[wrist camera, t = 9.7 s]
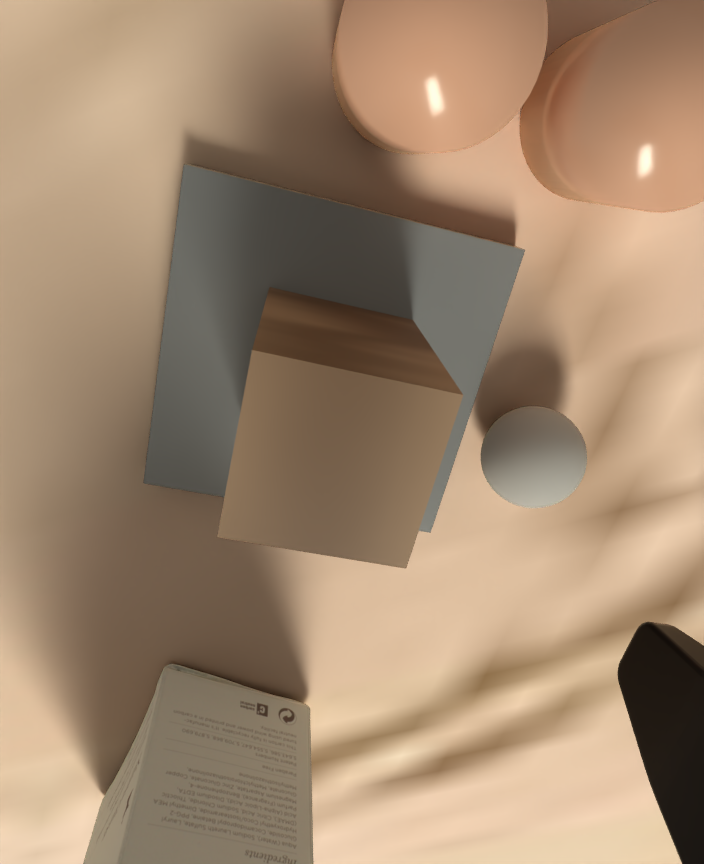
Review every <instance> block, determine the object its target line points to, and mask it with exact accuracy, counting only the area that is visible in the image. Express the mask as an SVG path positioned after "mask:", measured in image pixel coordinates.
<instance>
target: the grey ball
mask: <svg viewBox="0 0 704 864" xmlns="http://www.w3.org/2000/svg"><path fill="white" fill-rule="evenodd" d="M586 464H587V451H586V446H585V442H584V440H583V437H582V435H581V433H580V431H579V430H578V428H577V427H576V426H575V425H574V423H573V422H572V421H571V420H569V419H568V418H567V417H566V416H564V415H563V414H561V413H560V412H557V411H555V410H553V409H550V408H546V407H541V406H525V407H521V408H517V409H514V410H511V411H509V412H507V413H506V414H504V415H502V416H501V417H500V418H499V419H497V420H496V421H495V422H494V423H493V425H492V426H491V427H490V429H489V430H488V432H487V433H486V435H485V438H484V440H483V444H482V448H481V465H482V470H483V473H484V475H485V478H486V480H487V482H488V483H489V484H490V486H491V487H492V489H493V490H494V491H495V492H496V493H497V494H498V495H499V496H501V497H502V498H503V499H505V500H507V501H508V502H510V503H512V504H515V505H517V506H521V507H526V508H542V507H547V506H551V505H554V504H557V503H559V502H561V501H562V500H564V499H565V498H567V497H568V496H569V495H570V494H571V493H573V492H574V490H575V489H576V488H577V487H578V485H579V484H580V482H581V480H582V478H583V476H584V473H585V470H586Z"/></svg>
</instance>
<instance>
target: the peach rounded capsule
mask: <svg viewBox="0 0 704 864" xmlns="http://www.w3.org/2000/svg"><path fill="white" fill-rule="evenodd" d="M520 139H521V146H522V150H523V154H524V157H525V159H526V162H527V164H528V166H529V168H530V170H531V172H532V173H533V175H534V176H535V177H536V179H537V180H538V181H539V182H540V183H541V184H542V185H543V186H544V187H545V188H547V189H548V190H549V191H551V192H553V193H554V194H556V195H558V196H561V197H563V198H566V199H570V200H576V201H582V202H588V203H595V204H601V205H608V206H614V207H621V208H627V209H633V210H640V211H646V212H661V213H662V212H672V211H677V210H681V209H685V208H688V207H691V206H693V205H696V204H698V203H700V202H702V201H704V0H657V1H655V2H653V3H651V4H648V5H646V6H644V7H642V8H639V9H637V10H635V11H633V12H630V13H628V14H626V15H624V16H621V17H619V18H617V19H615V20H613V21H610V22H608V23H606V24H604V25H601V26H599V27H597V28H595V29H592V30H590V31H588V32H586V33H583V34H581V35H579V36H577V37H575V38H573V39H571V40H569V41H568V42H566V43H564V44H563V45H562V46H560V47H559V48H558V49H556V50H555V51H554V52H553V53H552V54H551V55H550V56H549V57H548V58H547V59H546V60H545V62H544V63H543V64H542V67H541V70H540V73H539V76H538V78H537V81H536V83H535V85H534V87H533V89H532V91H531V93H530V95H529V97H528V98H527V100H526V101H525V103H524V104H523V106H522V110H521V118H520Z"/></svg>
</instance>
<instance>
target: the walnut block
mask: <svg viewBox="0 0 704 864" xmlns="http://www.w3.org/2000/svg"><path fill="white" fill-rule="evenodd" d="M462 398H463V394H462V392H461V391H460V389H459V388H458V386H457V385H456V383H455V382H454V380H453V379H452V377H451V376H450V374H449V373H448V371H447V370H446V368H445V367H444V365H443V364H442V362H441V361H440V359H439V358H438V356H437V355H436V353H435V352H434V350H433V349H432V347H431V346H430V344H429V343H428V341H427V340H426V338H425V337H424V336H423V334H422V333H421V331H420V330H419V328H418V327H417V325H416V324H415V322H414V321H413V320H411V319H407V318H402V317H398V316H394V315H389V314H385V313H381V312H376V311H372V310H367V309H363V308H359V307H354V306H350V305H346V304H341V303H337V302H333V301H328V300H324V299H320V298H315V297H311V296H307V295H302V294H298V293H294V292H289V291H285V290H281V289H276V288H272V287H269V290H268V294H267V298H266V301H265V305H264V309H263V312H262V316H261V319H260V323H259V327H258V330H257V334H256V338H255V341H254V345H253V348H252V353H251V358H250V364H249V369H248V374H247V380H246V385H245V390H244V396H243V401H242V406H241V412H240V417H239V422H238V427H237V433H236V438H235V443H234V449H233V454H232V459H231V465H230V470H229V475H228V481H227V486H226V491H225V497H224V502H223V507H222V512H221V518H220V523H219V528H218V534H217V537H218V538H224V539H230V540H236V541H242V542H248V543H254V544H260V545H267V546H273V547H279V548H285V549H291V550H297V551H303V552H309V553H315V554H321V555H327V556H333V557H339V558H345V559H351V560H358V561H364V562H370V563H376V564H382V565H388V566H394V567H400V568H406V567H407V564H408V561H409V558H410V555H411V552H412V549H413V546H414V543H415V540H416V537H417V534H418V531H419V528H420V525H421V522H422V519H423V516H424V513H425V510H426V507H427V504H428V501H429V498H430V495H431V492H432V489H433V486H434V482H435V479H436V476H437V473H438V470H439V467H440V464H441V461H442V458H443V455H444V452H445V449H446V446H447V443H448V440H449V437H450V434H451V431H452V428H453V425H454V422H455V419H456V416H457V413H458V410H459V407H460V404H461V401H462Z"/></svg>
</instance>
